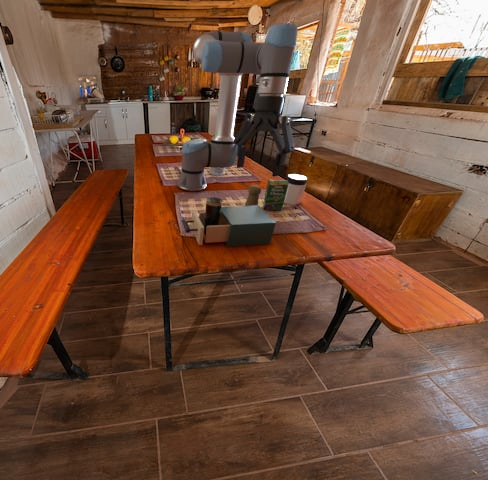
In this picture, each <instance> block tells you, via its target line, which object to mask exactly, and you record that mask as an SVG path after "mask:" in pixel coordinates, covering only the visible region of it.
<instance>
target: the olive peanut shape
mask: <svg viewBox="0 0 488 480" xmlns="http://www.w3.org/2000/svg"><path fill="white" fill-rule="evenodd" d="M247 191H248V195H247V198H246V200H245V203H244V206H256V205H259V198H260V195H261V193H262V192H261V191H262V187H261V186H259V185H256V184H253V185H250V186H249V187H248V189H247Z"/></svg>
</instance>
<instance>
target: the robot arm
mask: <svg viewBox="0 0 488 480" xmlns="http://www.w3.org/2000/svg"><path fill="white" fill-rule="evenodd" d="M298 31H299V28H298V26H297V25H296V24H293V23H280V24H279V23H278V24H274V25H271V26H269V28H268V29H267V31H266V32H267V33H266V36H265V39H264V42H253V39H252V35H251V34H250V33H248V32H243V31H216V30H215V31H214V30H213V31H212V30H211V31H208V32H205V33H202V34H200V35H199V36H198V37H197V38H196V39H195V40H194V42H193V45H192V57H193V59H194V60H195V62H196V63H198V64H199V65H201V69H202V71H203V73H210V74H218V75H219V77H220V78H219V89H218V99H217V108H216V121H215V128H214V135H213V136H212V137H211V139H210V142H208V140H207V139H204V138H194V139H193V138H192V139H189V140H186V141H185V142H184V143H183V144H182V149H181V150H182V151H181V170H180V168H178V166H175V167H174V170H177V171H178V172H179V177H178V180H177V184H176V185H177V186H176V187H177V188H178V189H179V190H181V191H184V192H189V193H191V192H192V193H198V192H202V191H205V190H206V189H207V180H206V175H205V168H211V167H218V168H219V167H220V169H221V168H224V169H225V168H232V167H234V164H235V163H236V168H238V169H239V168H240V169H241V168H243V167H245V160H246V153H247V146H246V145H247V144H248V142H249V141H250V140H251V139H252V138H253V137H254V136H255V135H256V133H258V132H265V133H269V134H270V136H271V138H272V140H273V141H274V143H275V146H276V148H277V150H278V153H276V156H275V160H274V165H273V170H272V174H271V177H273V178H275V177H278V176H280V175H281V170H282V166H284V165H285V163H286V159H287V155H288V154H290V153H294V152H295V149H296V148H295V144H294V138H293V132H292V128H291V119H292V117H291V115H283V116H281V113H282V110H283V108H284V101H285V97H284V95H285V94H286V92H287V87H288V83H289V82H288V81H289V78H290V73H291V68H292V63H293V58H294V54H295V50H296V46H297V39H298ZM244 74H247V75H249V74H252V75H255V76H259V80H258V87H257V95H258V96H257V97H256V99H255V105H254V111H255V112H254V113H245V116H244V119H243V122H242V124H241V125H240V128H239V130H238V132H237V133H236V135H235V137H234V129H235V122H236V114H237V107H238V99H239V91H240V85H241V77H242V76H243V75H244ZM252 122H253V124H252ZM278 124H280V127H279V125H278ZM280 128H281V131H280ZM281 133H282V134H281Z"/></svg>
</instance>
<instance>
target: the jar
mask: <svg viewBox="0 0 488 480" xmlns="http://www.w3.org/2000/svg"><path fill="white" fill-rule="evenodd" d="M286 180H287V181H288V182H289V184H288V188H287V192H286V196H285V200H284V203H283V204H285V205H286V204H287V205H291V206H296V205H299V204H301V202H302V199H303V196H304V193H305V191H306V187H307V182H308V177H307V176H305V175H302V174H298V173H290V174H288V175H287V178H286Z"/></svg>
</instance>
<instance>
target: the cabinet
mask: <svg viewBox="0 0 488 480" xmlns="http://www.w3.org/2000/svg"><path fill="white" fill-rule="evenodd" d="M221 213H222V214H223V216H224V217H225V219H226V220H227V221H228V223H229V224H230V232H229V237H228V242H224V243H225V244H226V246H227V247H240V246H241V247H244V246H259V245H270V244H271V242H272V239H273V235H274V231H275V228H276V224H277V222H276V220H274V219H273V218H272V216H270V215H269V214H268V213H267V212H266V211H265V209H263V207H261V206H260V205H259V204H258V205H256V206H245V205H236V206H235V205H234V206H233V205H232V206H222V207H221Z"/></svg>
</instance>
